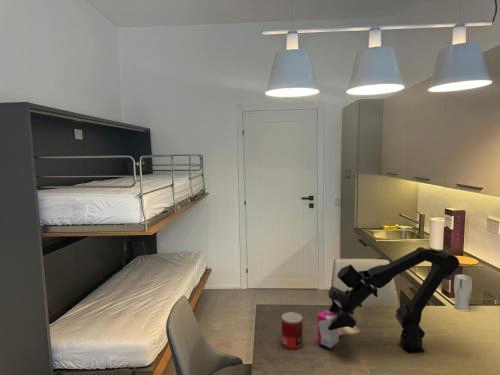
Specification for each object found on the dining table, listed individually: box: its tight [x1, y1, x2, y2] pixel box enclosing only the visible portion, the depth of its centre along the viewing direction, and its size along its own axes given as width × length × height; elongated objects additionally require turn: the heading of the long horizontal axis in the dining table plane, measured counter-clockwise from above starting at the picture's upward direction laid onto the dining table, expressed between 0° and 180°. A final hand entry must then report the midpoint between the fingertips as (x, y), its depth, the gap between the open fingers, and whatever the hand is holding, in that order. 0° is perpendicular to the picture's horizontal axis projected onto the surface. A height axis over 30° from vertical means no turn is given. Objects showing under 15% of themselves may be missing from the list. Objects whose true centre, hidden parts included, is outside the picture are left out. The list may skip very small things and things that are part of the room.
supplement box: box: [317, 309, 340, 350], centre depth 128 cm, size 6×6×12 cm
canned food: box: [281, 312, 304, 350], centre depth 129 cm, size 8×8×11 cm
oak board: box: [339, 324, 362, 337], centre depth 141 cm, size 12×12×1 cm
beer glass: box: [453, 273, 473, 311], centre depth 154 cm, size 7×7×15 cm
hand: (327, 323), depth 127 cm, fingers closed on supplement box, 8 cm apart
